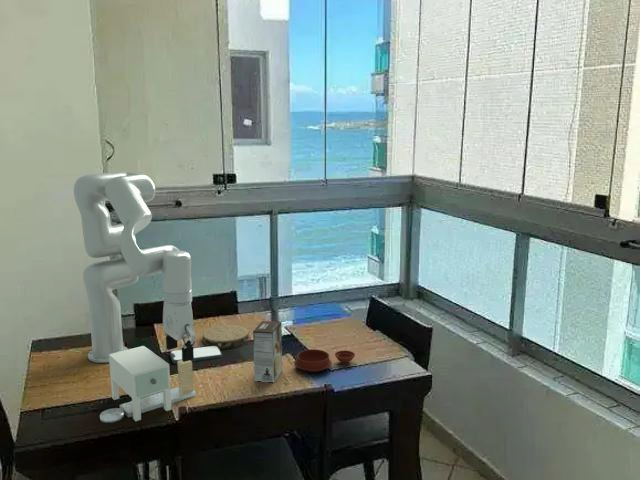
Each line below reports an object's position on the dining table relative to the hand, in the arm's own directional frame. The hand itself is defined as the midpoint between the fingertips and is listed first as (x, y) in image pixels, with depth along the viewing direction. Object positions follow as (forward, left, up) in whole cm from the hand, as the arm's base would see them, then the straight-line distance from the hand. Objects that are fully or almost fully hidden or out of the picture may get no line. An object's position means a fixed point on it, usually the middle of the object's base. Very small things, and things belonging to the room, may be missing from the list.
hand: (179, 354), depth 165 cm
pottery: (+11, +44, -12) cm, 47 cm away
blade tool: (+1, -7, -12) cm, 14 cm away
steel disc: (+1, -20, -12) cm, 24 cm away
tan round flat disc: (-28, +31, -12) cm, 43 cm away
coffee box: (+6, +26, -12) cm, 29 cm away
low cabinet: (-1, -11, -12) cm, 16 cm away
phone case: (-22, +16, -13) cm, 30 cm away
